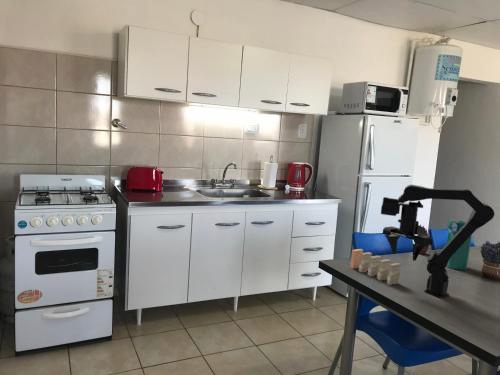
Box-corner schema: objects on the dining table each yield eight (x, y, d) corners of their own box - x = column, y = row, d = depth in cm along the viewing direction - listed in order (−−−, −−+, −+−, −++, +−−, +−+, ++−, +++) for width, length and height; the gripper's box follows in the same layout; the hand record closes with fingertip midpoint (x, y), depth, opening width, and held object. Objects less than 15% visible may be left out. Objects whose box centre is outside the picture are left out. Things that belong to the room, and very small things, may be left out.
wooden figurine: (412, 253, 216) (416, 224, 214) (414, 250, 221) (417, 222, 219) (426, 255, 213) (430, 226, 211) (427, 253, 218) (431, 225, 216)
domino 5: (398, 283, 168) (401, 264, 167) (390, 284, 165) (392, 265, 164) (395, 282, 169) (397, 262, 168) (386, 283, 166) (389, 264, 165)
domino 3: (378, 275, 176) (381, 256, 175) (370, 276, 173) (372, 257, 172) (375, 273, 177) (378, 255, 176) (367, 275, 175) (369, 256, 174)
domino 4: (388, 279, 172) (390, 260, 171) (380, 280, 169) (382, 261, 168) (385, 277, 173) (387, 259, 172) (376, 279, 170) (379, 260, 169)
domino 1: (361, 267, 184) (363, 249, 183) (352, 268, 182) (354, 250, 181) (358, 266, 186) (360, 248, 185) (350, 267, 183) (352, 249, 182)
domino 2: (369, 271, 180) (371, 253, 179) (361, 272, 178) (363, 254, 176) (366, 270, 182) (369, 252, 180) (358, 271, 179) (360, 253, 178)
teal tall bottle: (460, 265, 201) (467, 220, 198) (468, 270, 193) (475, 224, 190) (439, 262, 202) (446, 218, 199) (446, 268, 193) (453, 221, 190)
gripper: (443, 221, 157) (438, 262, 159) (401, 212, 173) (397, 248, 175) (425, 223, 151) (420, 265, 153) (383, 213, 167) (379, 251, 169)
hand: (404, 257), depth 163 cm, fingers open, 9 cm apart
